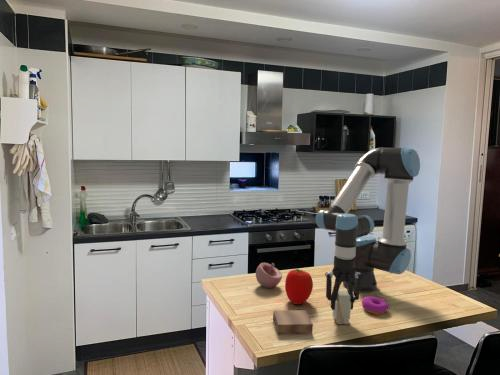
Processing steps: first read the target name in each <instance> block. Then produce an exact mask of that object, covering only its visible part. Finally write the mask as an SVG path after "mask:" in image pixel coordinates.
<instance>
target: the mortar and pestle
mask: <svg viewBox="0 0 500 375" xmlns="http://www.w3.org/2000/svg"><path fill="white" fill-rule="evenodd" d="M275 265H276V264H275V263H273V262H272V263H271V264H270V263H268V262H261V263H260V264H259V265H258V266H257V268H256V270H255V278H256V280H257V282H258V284H259V285H261V286H262V287H264V288H266V289H267V288H269V289H270V288H275V287H277V286H278V285H279V284H280V283H281V281H282V279H283V274H282V273H281V271H280V270H279V269H278V268H276V267H275Z"/></svg>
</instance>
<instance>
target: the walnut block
mask: <svg viewBox="0 0 500 375" xmlns="http://www.w3.org/2000/svg"><path fill="white" fill-rule="evenodd" d="M272 321H273V324H274V326H275V330H276V334H277V335H278V336H279V335H280V336H281V335H282V336H284V335H287V336H290V335H313V328H314V324H313V322H312V320H311V319H310V317H309V315H308V313H307V311H306V310H305V309H304V310H303V309H301V310H300V309H299V310H298V309H297V310H293V309H291V310H286V309H285V310H273V314H272Z"/></svg>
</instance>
